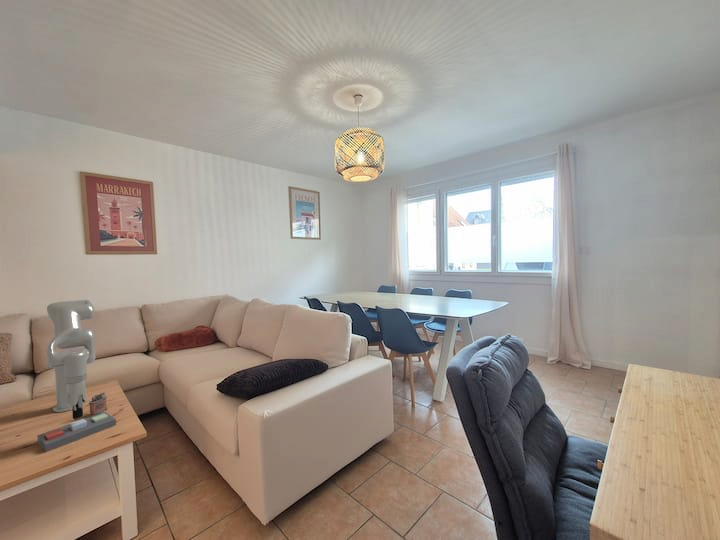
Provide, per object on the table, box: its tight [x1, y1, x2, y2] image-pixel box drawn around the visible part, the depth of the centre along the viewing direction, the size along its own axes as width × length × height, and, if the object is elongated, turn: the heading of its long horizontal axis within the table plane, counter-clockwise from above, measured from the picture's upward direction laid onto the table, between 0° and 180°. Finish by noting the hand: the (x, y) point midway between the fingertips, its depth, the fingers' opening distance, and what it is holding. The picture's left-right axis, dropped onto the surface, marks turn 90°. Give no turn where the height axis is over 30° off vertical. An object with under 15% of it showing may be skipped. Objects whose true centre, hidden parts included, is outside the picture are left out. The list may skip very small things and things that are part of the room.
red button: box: [45, 429, 64, 440], centre depth 131 cm, size 5×5×3 cm
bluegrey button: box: [69, 418, 87, 431], centre depth 138 cm, size 5×5×3 cm
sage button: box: [92, 413, 108, 423], centre depth 145 cm, size 5×5×3 cm
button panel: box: [36, 411, 117, 453], centre depth 138 cm, size 14×24×3 cm, turn 148°
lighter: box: [88, 392, 108, 417], centre depth 157 cm, size 8×3×10 cm, turn 168°
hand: (77, 417), depth 138 cm, fingers closed
